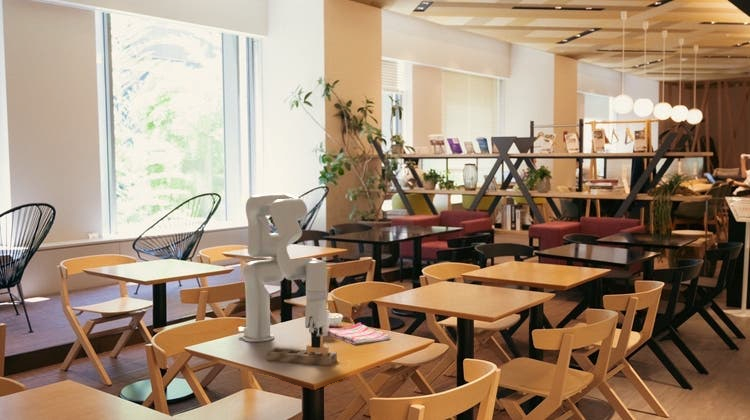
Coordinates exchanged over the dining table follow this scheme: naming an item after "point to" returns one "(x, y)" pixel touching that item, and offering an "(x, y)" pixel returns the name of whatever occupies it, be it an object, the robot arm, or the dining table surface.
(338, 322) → the white bowl
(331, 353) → the wooden compartment tray
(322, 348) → the clip
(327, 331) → the white cup
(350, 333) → the dish towel
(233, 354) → the dining table surface
